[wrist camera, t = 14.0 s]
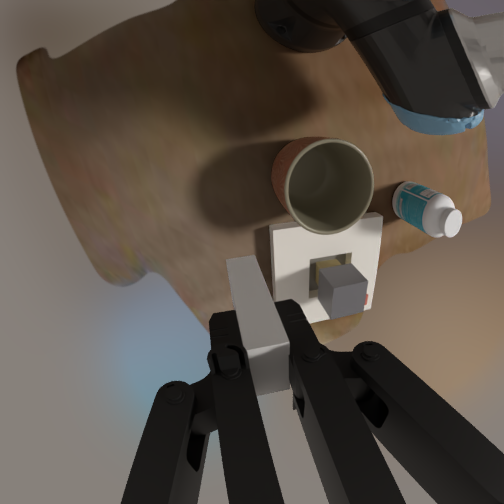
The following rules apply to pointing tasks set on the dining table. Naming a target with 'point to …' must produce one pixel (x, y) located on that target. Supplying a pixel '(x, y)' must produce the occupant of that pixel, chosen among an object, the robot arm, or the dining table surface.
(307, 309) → the socket plate
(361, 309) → the plug
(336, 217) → the planter
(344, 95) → the dining table surface
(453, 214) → the pill bottle
